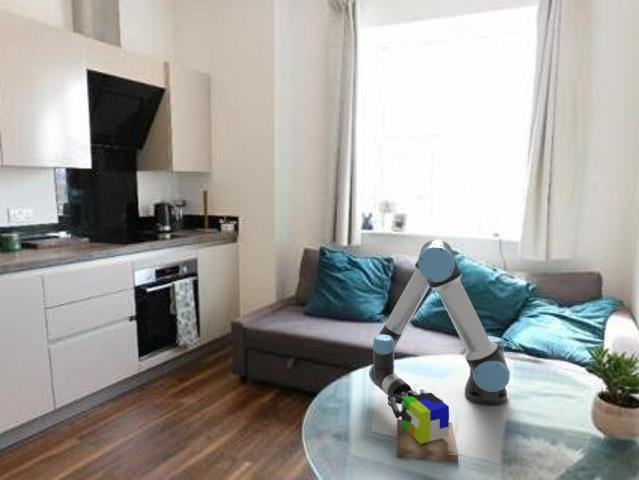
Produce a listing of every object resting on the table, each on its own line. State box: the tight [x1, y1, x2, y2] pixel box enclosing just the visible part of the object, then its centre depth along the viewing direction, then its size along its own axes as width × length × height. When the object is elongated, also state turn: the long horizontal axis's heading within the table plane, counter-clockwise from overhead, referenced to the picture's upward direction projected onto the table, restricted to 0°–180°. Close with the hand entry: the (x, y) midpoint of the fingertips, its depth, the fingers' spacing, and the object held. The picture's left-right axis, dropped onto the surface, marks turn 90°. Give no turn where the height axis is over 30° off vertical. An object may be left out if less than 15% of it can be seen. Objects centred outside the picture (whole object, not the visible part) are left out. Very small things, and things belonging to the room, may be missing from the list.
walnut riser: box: [396, 418, 459, 464], centre depth 151 cm, size 18×18×3 cm
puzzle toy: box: [404, 392, 450, 444], centre depth 150 cm, size 10×10×10 cm
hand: (433, 420), depth 146 cm, fingers closed on puzzle toy, 10 cm apart
